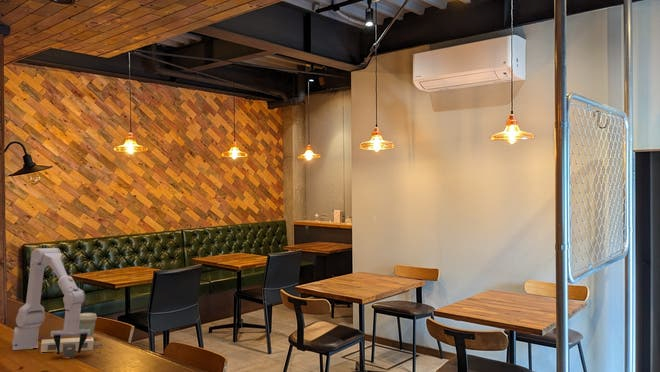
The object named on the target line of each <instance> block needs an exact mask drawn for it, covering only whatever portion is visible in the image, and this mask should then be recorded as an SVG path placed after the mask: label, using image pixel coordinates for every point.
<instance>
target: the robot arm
mask: <svg viewBox="0 0 660 372" xmlns="http://www.w3.org/2000/svg"><path fill="white" fill-rule="evenodd" d="M30 254H31V255H30V261H29V262H30V263H29V266H30V267H29V274H28V275H29V277H28V283H27V293H26V300H25V304H23V306H21V307H19V309H18V313H17V314H16V317H15V322H16V325H17V326H16V327H14V331H13V340H11V341H12V342H11V346H12V347H11V348H12V351H20V350H21V351H22V350H34V349H33V348H37V349H39V341H38V340H39V333H40V331H39V330H40V327H41V326H42V324H43V323H44V321H45V319H46V315H45V307H44V306H43V305H42V304H41V299H42V297H41V296H42V291H43V290H42V289H43V282H44V281H43V280H44V274H45V273H44V272H45V268H47V267H50V268H51V269H52V271H53V272H54V273H55V275H56V277H57V279H58V281H57V285H58V286H59V289H60V290H61V292H62V294H63V295H64V296H63V297H62V300H63V304H64V307H63V308H64V310H65V311H64V321H63V329H60V330H51V331H50V338H52V337H53V339H54V341H55V343H56V347H57V352H56V354H57V355H58V356H59V355H60V353H61V352H60V339H61V337H64V336H65V337H66V336H69V337H70V336H78V335H80V341H79V348H78V351H77V352H78V353H77V354H80V353H81V352H82V351H81V348H82V346H83V343H84V342H85V340H86V338H87V335H90V329H79V322H80V314H81V310H82V304H83V303H84V302H85V300H86V294H85V291H84V290H83V289H81V288H80V287H78V285H77V284H76V281H75V280H74V278H73V277H72V276H71V275H68V273H67V271H66V268H65V266H64V264H63V262H62V258H63V255H62V252H61V250H60V248H58V247H50V248H49V247H47V248H43V247H42V248H41V247H37V248H34V250H32V252H31V253H30Z"/></svg>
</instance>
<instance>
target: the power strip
mask: <svg viewBox="0 0 660 372" xmlns="http://www.w3.org/2000/svg"><path fill="white" fill-rule="evenodd" d="M79 341H80V338H78V337H67V338H65V337H64V338H60V352H59V353H63V344H71V343H75V344H76V349H75V352H78V348H79ZM94 347H103V343H95V340H94V337H87V338H86V340H85V342H84V343H83V346H82V348H81V351H80V352H83V351H94ZM47 351H57V347H56V343H55V341H54V338H50V339H47V338H46V339H41V343H40V353H41V352H47Z"/></svg>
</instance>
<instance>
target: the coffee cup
mask: <svg viewBox="0 0 660 372" xmlns="http://www.w3.org/2000/svg"><path fill="white" fill-rule="evenodd" d="M97 319H98V316H97V313H95V312H83V313H81V312H80V322H79V329H90V335H87V337H93V336H94V331H95V326H96V321H97ZM77 338H80V335H77ZM93 338H94V337H93Z"/></svg>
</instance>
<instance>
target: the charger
mask: <svg viewBox="0 0 660 372" xmlns="http://www.w3.org/2000/svg"><path fill="white" fill-rule="evenodd" d="M75 349H76V344H75V343H71V344H63V352H61V353H62V354H61V355H62V356H63V358H65V357H71V358H70V359H75V357H76V351H75ZM62 356H61V357H62Z"/></svg>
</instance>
